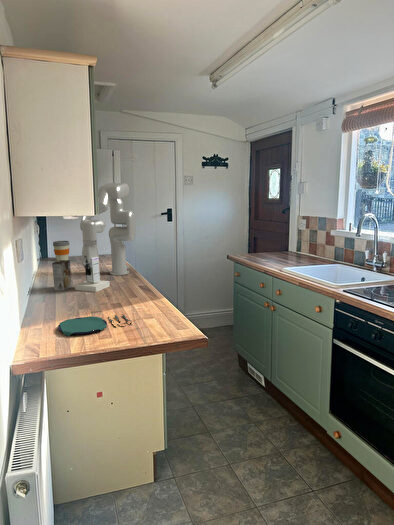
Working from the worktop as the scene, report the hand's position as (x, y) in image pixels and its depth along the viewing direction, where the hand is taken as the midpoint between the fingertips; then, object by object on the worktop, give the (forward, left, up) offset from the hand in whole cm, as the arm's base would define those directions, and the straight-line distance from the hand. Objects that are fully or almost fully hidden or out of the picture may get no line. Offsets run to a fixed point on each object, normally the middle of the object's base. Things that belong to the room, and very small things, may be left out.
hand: (91, 273), depth 239 cm
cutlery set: (+56, +39, -9) cm, 69 cm away
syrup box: (0, +1, -5) cm, 5 cm away
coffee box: (+6, -16, -9) cm, 19 cm away
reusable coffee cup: (-71, -77, -9) cm, 105 cm away
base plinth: (0, 0, -9) cm, 9 cm away
